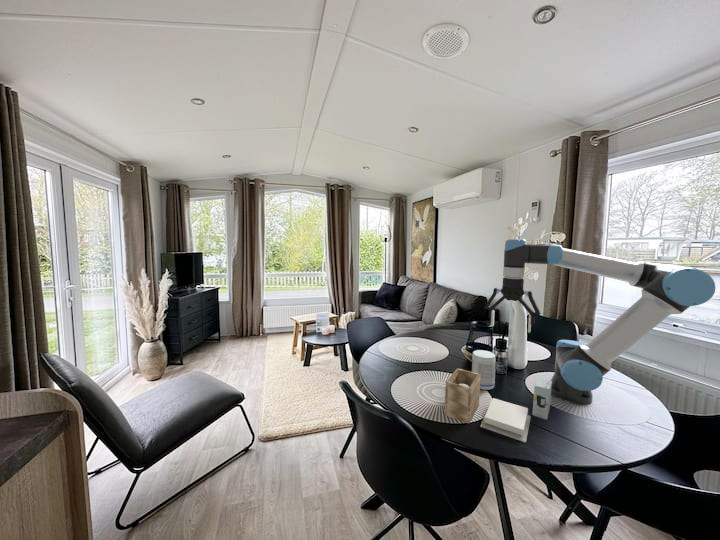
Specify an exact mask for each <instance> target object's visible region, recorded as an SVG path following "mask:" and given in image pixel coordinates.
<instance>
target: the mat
mask: <svg viewBox="0 0 720 540" xmlns="http://www.w3.org/2000/svg"><path fill="white" fill-rule="evenodd" d="M489 406H490V404H489ZM489 406H488V407H489ZM486 413H487V411H486V412H485V415H486ZM485 415H484V416H485ZM531 417H532V416H531V415H529V414H528V415H527V420H526V424H525V429H524V434H523V435H520V434H517V433H513V432H510V431H507V430H504V429H501V428H499V427H496V426H493V425H490V424H488V423H485V422H484V418H483V419H482V421H481V424H480V428H483V429H486V430H489V431H491V432H494V433H497V434H500V435H502V436H506V437H508V438H511V439H514V440H517V441H520V442H523V443H525V444H526V443H527V439H528V438H527V437H528V434H529V428H530V423H531Z"/></svg>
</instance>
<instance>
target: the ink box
mask: <svg viewBox="0 0 720 540" xmlns="http://www.w3.org/2000/svg"><path fill="white" fill-rule="evenodd" d="M533 387H534V389H533V401H532V413H531V414H532V416H534V417H537V418H540V419H544V420H548V418H549V413H550V409H551V399H552V394H551V388H552V381H551V380H549V379H546V378H545V379H544V378H541V377H537V380H536V381H535V384H534V386H533Z"/></svg>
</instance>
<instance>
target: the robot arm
mask: <svg viewBox="0 0 720 540" xmlns="http://www.w3.org/2000/svg"><path fill="white" fill-rule="evenodd" d="M503 252H504V253H503V268H502V269H503V272H502V276H503V277H502V287H501V288H498V287H494V288H493V293H492V294H491V296H490V297H489V298H488V300H487V302H486V304H485V305H484V309H486V310H488V318H489V319H490V327H492V328H493V327H494V326H495V312H496V311H495V310H494V309H495V308H496V307H498V305H499V304H501V303H502V302H503V301H504V300H506V301H512V302H513V301H514V302H517V301H518V303H520V304H521V305H522V306H523V308H524V309H525V310H526V311H527V313H528V314H529V315H528V322H527V323H528V325H527V333H529V334H530V333H531V331H532V330H531V327H532V325H534V324H535V320H536V317H537V316H541V311H540V309H539V307H538V304H537V303H536V301H535V298H534V297H533V290H524V283H525V281H524V278H525V265H526V264H531V265H532V264H536V265H539V264H540V265H549V266H551V265H553V266H558V267H560V268H565V269H569V270H574V271H579V272H583V273H588V274H591V275H594V276H595V275H596V276H601V277H604V278H608V279H613V280H618V281H622V282H626V283H628V284H629V285H630V286H631V287H636V288H640V289H641V290H640V291H641V297H640V298H639V299H638V300H637V301H636V302H634V303H633V304H632V305H631V306H630V307H628V308H627V309H626V310H624V312H623V313H622V314H620V315H619V316H618V317H617V318H616V319H615V320H614V321H613V322H611V323H610V324H609V325H608V326H607V327H606V328H604V330H602V331H601V332H600V333H598V335H596V336H595V337H594V338H593V339H592V340H591V341H590V342H588V343H586V342H581V341H577V340H571V339H559V340H557V342H556V346H555V348H556V349H555V350H556V351H555V362H554V363H555V364H554V372H553V373H554V374H553V375H552V377H551V379H550V381H552V388H551V396H553V397H556V398H557V399H558V400H559V399H560V400H562V401H565V402H569V403H572V404H577V405H588V404H591V403H592V402H593V391H594V390H597V389H598V388H599V387H600V386H601V385H602V383H603V379H604V378H603V377H604V376H605V375H606V374H607V373H609V372H610V371H611V370H612V366H611V364H612V363H613V362H614V361H615V360H616V359H618V358H619V357H620V356H621V355H622V354H624V353H625V352H626V351H627V350H629V349H630V348H631V347H632V346H633V345H635V344H636V343H637V342H638V341H640V340H641V339H642V338H643V337H645V336H646V335H647V334H648V333H649V332H651V331H652V330H653V329H654V328H656V327H657V326H658V325H660V324H661V323H662V322H663V321H665V319H667V318H668V317H669V316H671V315H681V314H682V313H684V312H685V311H686V310H688V309H689V308H690V307H693V306H694V307H695V306H699V305H703V304H705V303H707V302H708V301H710V300H711V299H712V298H713V297H714V294H715V293H716V289H717V287H716V283H715V281H714V278H713V277H712V276H711V275H710V274H709V273H707V272H705V271H703V270H702V269H699V268H696V267H693V266H689V265H686V266H685V265H684V266H683V265H678V264H672V263H671V264H670V263H669V264H668V263H655V262H647V261H642V260H640V261H636V262H633V261H628V260H624V259H618V258H613V257H608V256H603V255H599V254H593V253H588V252H583V251H579V250H574V249H571V248H570V249H569V248H563V246H562V245H561V244H546V243H538V244H529V243H527V240H526V239H518V238H517V239H514V238H513V239H512V238H511V239H507V240H505V244H504V251H503ZM500 293H501V295H502V296H501V297H500V298H499V299H498V300H497V301H496V302H495V303H493V304H492V302H493V301H494V299H495V298H496V296H497V294H500ZM524 295H526V297H527V298H528V300H529V302H530V303H531V307H532V308H533V309H532V308H531V307H530V305H529V304H528V303H527V302H526V300H525V299H524V298H523V296H524ZM491 304H492V305H491ZM490 305H491V306H490Z"/></svg>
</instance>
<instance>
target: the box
mask: <svg viewBox="0 0 720 540" xmlns="http://www.w3.org/2000/svg"><path fill="white" fill-rule="evenodd" d="M459 384H466V385H468V386H469V387H466V386H463V385H459ZM480 390H481V389H480V374H478V373H474V372H472V371H470V370H465V369H463V368H456V369H454V371H453V372H452V374H451V375H450V376H449V378H447V380H446V381H445V393H444V395H445V396H444V397H445V400H444V416H447V417H450V418H453V419H455V420H457V421H461V422H463V423H466V424H471V421H473V417H474V416H475V414H476V412H477V410H478V408H479V406H480Z"/></svg>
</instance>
